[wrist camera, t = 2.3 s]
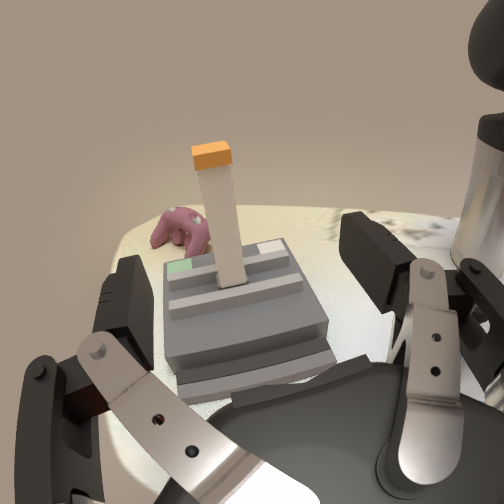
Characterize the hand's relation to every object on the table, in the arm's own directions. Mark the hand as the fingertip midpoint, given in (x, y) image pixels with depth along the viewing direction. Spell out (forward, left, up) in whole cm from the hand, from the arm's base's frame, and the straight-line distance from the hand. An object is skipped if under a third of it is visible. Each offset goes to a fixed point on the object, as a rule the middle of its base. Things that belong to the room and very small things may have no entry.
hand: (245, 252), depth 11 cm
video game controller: (+5, -27, -18) cm, 33 cm away
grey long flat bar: (0, -5, -17) cm, 18 cm away
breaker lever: (0, -14, -14) cm, 20 cm away
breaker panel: (0, -14, -17) cm, 22 cm away
